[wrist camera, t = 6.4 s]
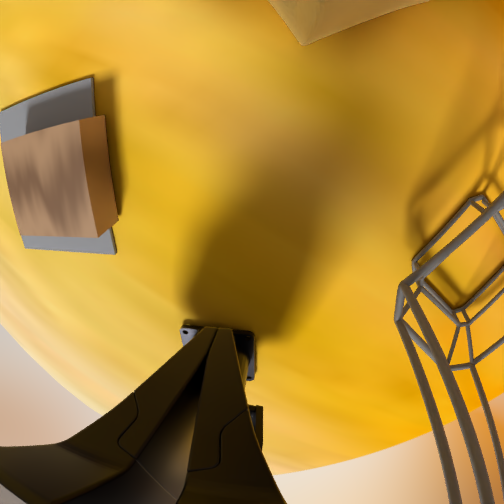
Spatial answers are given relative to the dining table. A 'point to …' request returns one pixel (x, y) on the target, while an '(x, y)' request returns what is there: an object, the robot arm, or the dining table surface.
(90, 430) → the robot arm
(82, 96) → the grey mat
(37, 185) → the walnut slab
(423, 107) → the dining table surface
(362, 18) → the cheese
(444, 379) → the geometric lantern
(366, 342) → the dining table surface
